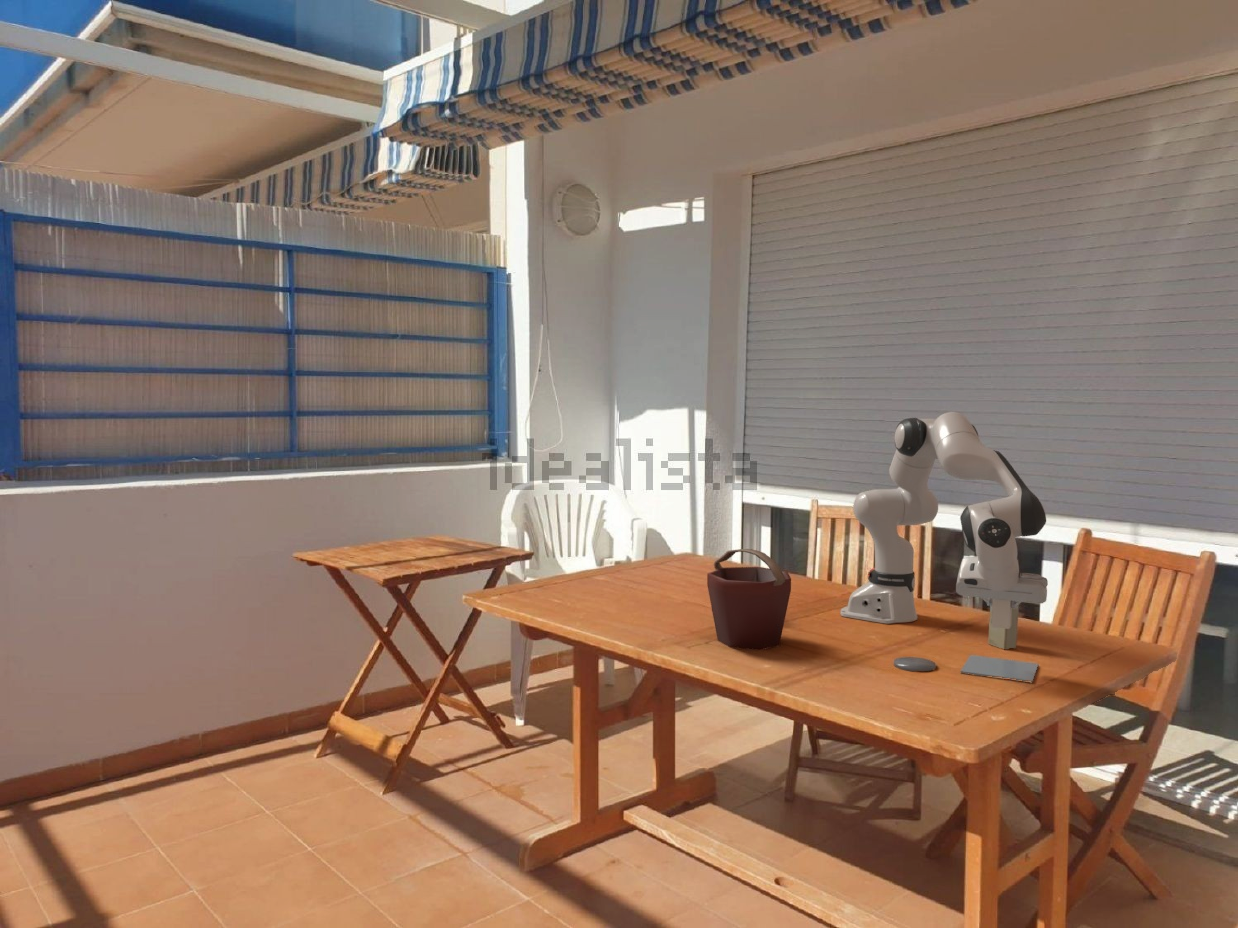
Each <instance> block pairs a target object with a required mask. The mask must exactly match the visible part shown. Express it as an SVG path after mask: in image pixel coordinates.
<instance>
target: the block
mask: <svg viewBox="0 0 1238 928" xmlns="http://www.w3.org/2000/svg"><path fill="white" fill-rule="evenodd" d="M1011 616H1012V608H1011V600H1001V599H993V602H992V627H997V628H1005V629H1010V627H1011Z"/></svg>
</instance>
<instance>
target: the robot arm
mask: <svg viewBox="0 0 1238 928" xmlns="http://www.w3.org/2000/svg"><path fill="white" fill-rule="evenodd" d="M894 446H895V452H894V454H893V457H892V461H891V464H890V466H889V469H888V473H889V477H890V479H891V481H892V482H893V483H894V484H895V485H896V486H897V488H881V489H880V488H879V489H878V488H877V489H876V488H875V489H870V490H866V491H862V492H859V493H858V494H857V495H856V497H855V499H854V500H853V501H854V502H853V510H852V511H853V514H854V516H855V518H856V520H857V521H858V522H859V523H860V524H861V525H862V526H863V527H864V528H866V529H867V530H868V531H867V532H868V533H869V534H870V536H871V538H872V541H873V547H874V559H875V560H874V564H875V565H874V567H872V568H871V569H870V570H869V571H868V572H867V579H868V580H867V581H866V582H865V583H863V584H862V585H860V587H857V589H855V590H854V591H853V592H852V593H850V596H849V598H848V603H847V605H846V606H844V607H842V608H841V609H840V616H841V617H843V618H844V617H845V618H850V619H855V620H856V619H857V620H863V621H868V622H874V623H881V624H889V625H890V624H897V623H910V622H914V621H917V620H918V614H917V611H916V605H915V597H914V596H915V594H914V591H915V588H916V587H915V586H916V577H915V576H916V575H915V572H914V559H915V558H914V553H915V550H914V547H913V545H912V543H911V542H910V541H909V540H907V539H906V538H903V537H901V536H900V535H899V532H898V526H919V525H923V524H927V523H931V522H932V521H934V520H935V518H936V517H937V515H938V511H939V502H938V499H937V497H936V495H935V494H934V493H933V492H932V491H930V490H929V487H928V480H929V477H930V475H931V471H932V469H933V466H934V464H935V461H936V460H938V461H939V464H940V466H941V468H942V469H943V470H944V472H945V473H946V474H948V475H949V476H951V477H953V478H955V479H959V480H965V481H969V480H973V481H974V480H975V481H976V480H980V481H981V480H982V481H983V480H984V481H991V482H995V483H997V484H999V485H1000V486H1001V487H1002V489H1003V491H1004V492H1005V493H1006V495H1007V496H1006V497H1002V498H997V499H993V500H988V501H982V502H978V503H974V504H970V505H966V507H965V508H964V509H963V511H962V512H961V515H960V517H959V520H960V524H961V525H960V526H961V531H962V532H961V534H962V538H963V542H964V544H965V545H966V547H968V549H969V550H971V552H973V553H975V556H969V557H968V556H967V557H963V558H962V559H961V562H960V566H959V569H958V574H957V577H956V578H957V579H956V584H955V592H956V594H958V595H959V596H962V597H963V596H965V597H975V598H981V599H982V601H984V602H985V603H986V606H988V607H990V606H992V602H993V599H1001V600H1011V608H1016V609H1017V607H1018V605H1019V606H1020V604H1021V603H1033V604H1044V603H1046V602H1047V600H1048V599H1047V597H1048V588H1047V587H1048V582H1049V581H1048V579H1047V578H1046V577H1044V576H1042V575H1040V574H1037V573H1028V572H1020V566H1019V559H1018V555H1019V554H1018V545H1017V541H1016V538H1021V537H1023V538H1024V537H1032V536H1036V535H1038V534H1039V533H1040V532H1041V530H1042V529H1043V528H1044V526H1045V525H1046V524H1047V516H1046V515H1047V514H1046V511H1045V508H1044V505H1043V503H1042V502H1041V501H1040V499H1039V498H1038V497H1037V495H1035V493H1033V492H1032V491H1031V490H1030V488H1028V486H1027V484H1026V483H1025V482H1024V481H1023V479H1022V477H1020V475H1019V474H1018V472H1017V471H1016V470H1015V469H1014V467H1013V466H1012V464H1011V463H1010V462H1009V461H1008V459H1007V458H1006V457H1005V456H1004V455H1003V454H1002V453H1001V452H1000V451H999V450H995V449H992V448H989V447H987V445H984V444H983V443H982V442H981V440H980V438H979V433H978V430H977V428H976V427H975V425H973V424H971V422H970V420H968V418H967V417H966V416H965V415H963V414H962V413H960V412H956V411H950V412H949V411H948V412H945V413H943V414H940V415H939V416H938V417H937V418H918V417H908V418H903V419H902V420H901V421H900V422H899V423H898V424H897V426H896V428H895V432H894Z"/></svg>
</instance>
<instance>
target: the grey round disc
mask: <svg viewBox="0 0 1238 928" xmlns="http://www.w3.org/2000/svg"><path fill="white" fill-rule="evenodd" d="M893 666H894V667H896V668H897V667H898V669H899V670H904V671H909V672H914V671H928V672H932V671H931V670H933V669H935V668H936V669H937V664H936V662H934V661H933V660H930V659H927V658H924V657H917V656H902V657H897V658H894V660H893ZM933 671H934V670H933Z"/></svg>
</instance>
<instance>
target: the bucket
mask: <svg viewBox="0 0 1238 928" xmlns="http://www.w3.org/2000/svg"><path fill="white" fill-rule="evenodd" d="M741 552H742V553H747V554H751V555H754V556H755V557H757V558H759V560H761V561H762V562H763V563H764V564H765V565H766V566H767V567H763V566H739V567H737V566H735V567H733V566H730V567H727V566H726V567H723V566H722V565H721V563H723V562H726V561H728V560H729V559H730V558H732V557H733V556H734V555H735V554H736V553H741ZM713 566H714V567H713V568H714V569H715V570H713V571H711V572H708V573H707V575H706V576H707V577H706V579H707V582H706V585H707V591H708V595H709V600H710V602H709V603H710V606H711V613H712V617H713V622H714V628H715V633H716V639H717V641H718V642H719V643H721V644H723V645H724V646H727V647H729V648H732V649H740V648H741V650H752V651H753V650H754V651H761V650H766V649H771V648H775V647H780V644H781V641H782V640H781V639H782V635H783V630H784V625H785V620H786V615H787V611H788V606H789V600H790V597H791V591H792V578H791V576H790V573H789V571H786V570H782V569H781V567H780V566H779V564H778V563H777V562H775V560H774V559H772V558H771V557H770V556H769V555H768V554H766V553H765V552H762V551H759V550H757V549H752V548H740V549H730V550H727V551H726V552H724V554H722V555H721V556H719V558H717V559H716V560H715V561H714V563H713ZM765 648H766V649H765Z"/></svg>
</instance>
